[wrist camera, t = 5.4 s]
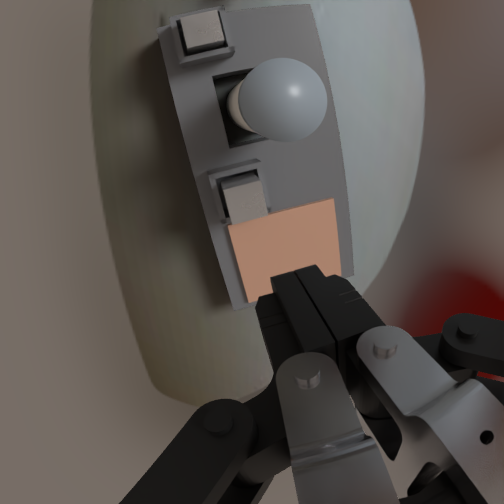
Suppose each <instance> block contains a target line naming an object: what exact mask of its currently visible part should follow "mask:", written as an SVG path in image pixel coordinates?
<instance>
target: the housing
mask: <svg viewBox="0 0 504 504" xmlns="http://www.w3.org/2000/svg"><path fill="white" fill-rule="evenodd" d="M213 10H217V12H218V16H219V20H220V24H221V28H222V32H223V36H224V43H223V46H222V48H221V49H216V50H211V51H207V52H202V53H198V54H194V55H190V56H188V52H187V48H186V44H185V39H184V35H183V31H182V26H181V20H180V18H181V17H185V16H190V15H194V14H199V13H203V12H208V11H213ZM169 20H170V24H171V25H167V26H163V27H160V28H157V32H158V37H159V41H160V45H161V50H162V54H163V58H164V63H165V67H166V71H167V75H168V79H169V83H170V87H171V91H172V95H173V99H174V103H175V107H176V111H177V115H178V119H179V123H180V127H181V130H182V134H183V138H184V142H185V145H186V149H187V153H188V157H189V160H190V164H191V168H192V171H193V175H194V178H195V182H196V186H197V189H198V193H199V196H200V200H201V203H202V207H203V210H204V214H205V217H206V221H207V224H208V227H209V231H210V234H211V238H212V241H213V244H214V248H215V251H216V254H217V258H218V261H219V264H220V267H221V271H222V274H223V277H224V280H225V284H226V287H227V290H228V293H229V296H230V299H231V303H232V306H233V309H234V311H235V310H239V309H243V308H246V307H250V306H253V305H256V304H257V301H258V298H259V296H263V295H266V294H270V293H273V290H272V286H271V281H270V277H272V276H276V275H279V274H283V273H286V272H290V271H294V270H297V269H300V268H304V267H307V266H310V265H314V264H316V265H317V266H318V267H319V269H320V270H321V271H322V273H323V274H324V275H325V276H326V277H327V276H330V275H334V274H336V275H338V276H340V277H342V278H347V277H350V276H353V275H354V267H353V250H352V237H351V225H350V214H349V204H348V194H347V186H346V178H345V170H344V162H343V155H342V148H341V142H340V136H339V129H338V124H337V118H336V112H335V107H334V102H333V96H332V91H331V86H330V82H329V77H328V72H327V68H326V63H325V59H324V55H323V51H322V47H321V43H320V39H319V35H318V31H317V27H316V23H315V20H314V16H313V13H312V9H311V6H310V4H303V5H283V6H271V7H261V8H252V9H244V10H237V11H231V12H226V11H225V8H224V5H223V6H217V7H212V8H207V9H202V10H197V11H193V12H188V13H184V14H180V15H176V16H172V17H169ZM275 58H290V59H294V60H298V61H300V62H302V63H304V64H306V65H307V66H309V67H310V68H311V69H313V70H314V71H315V72H316V73H317V75H318V76H319V77H320V79H321V80H322V82H323V84H324V87H325V90H326V93H327V110H326V113H325V116H324V119H323V121H322V122H321V124H320V125H319V127H318V128H317V129H316V130H315V131H314V132H313V133H311V134H310V135H309V136H307V137H305V138H303V139H301V140H297V141H293V142H279V141H274V140H271V139H268V138H265V137H263V138H258V139H254V140H250V141H245V142H241V143H237V144H233V145H229V144H228V140H227V136H226V132H225V128H224V124H223V120H222V116H221V111H220V107H219V103H218V99H217V95H216V91H215V87H214V83H213V80H215V79H219V78H223V77H228V76H233V75H238V74H243V73H248V72H251V71H252V70H253V69H254V68H255V67H256V66H258V65H259V64H261V63H263V62H265V61H268V60H270V59H275ZM252 172H253V173H254V174H255V175H256V176H257V177H258V178H259V179H260V180H261V184H262V189H263V193H264V198H265V203H266V207H267V212H268V216H264V217H261V218H257V219H253V220H249V221H246V222H242V223H238V224H234V225H232V222H231V219H230V216H229V213H228V209H227V206H226V202H225V198H224V194H223V190H222V186H221V182H220V181H221V180H224V179H228V178H232V177H236V176H240V175H244V174H248V173H252Z"/></svg>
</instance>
